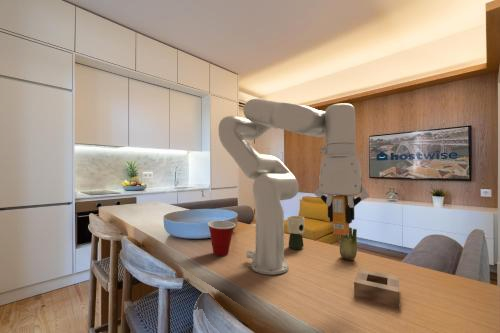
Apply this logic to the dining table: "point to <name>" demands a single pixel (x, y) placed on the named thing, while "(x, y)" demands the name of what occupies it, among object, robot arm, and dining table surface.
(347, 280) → the dining table surface
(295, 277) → the dining table surface
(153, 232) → the dining table surface
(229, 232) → the plastic cup
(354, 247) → the fennel bulb
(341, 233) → the supplement box
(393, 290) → the square wooden frame
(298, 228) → the character mug
